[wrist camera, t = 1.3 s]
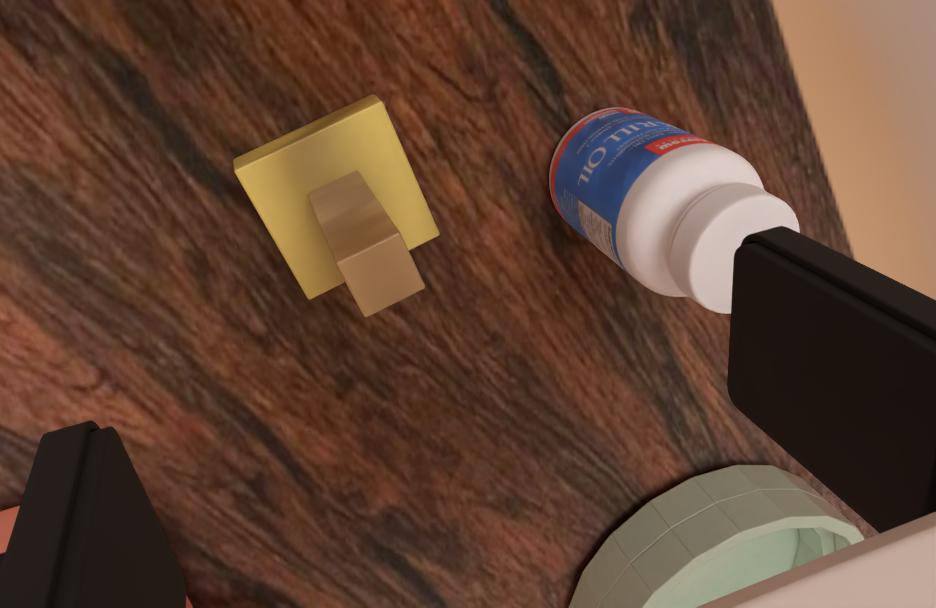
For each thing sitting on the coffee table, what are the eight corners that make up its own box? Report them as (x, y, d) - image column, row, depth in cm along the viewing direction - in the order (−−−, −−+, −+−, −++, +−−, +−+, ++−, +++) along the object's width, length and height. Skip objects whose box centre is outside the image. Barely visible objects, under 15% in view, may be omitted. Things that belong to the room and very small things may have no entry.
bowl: (797, 408, 41) (865, 461, 37) (824, 587, 51) (881, 647, 46) (525, 558, 40) (564, 633, 35) (604, 716, 49) (642, 790, 45)
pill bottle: (631, 77, 29) (801, 132, 21) (676, 182, 32) (841, 267, 24) (521, 156, 29) (647, 242, 21) (575, 253, 32) (706, 363, 24)
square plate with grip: (373, 92, 26) (433, 146, 20) (430, 222, 29) (499, 308, 23) (231, 159, 26) (243, 238, 19) (303, 285, 29) (336, 392, 22)
